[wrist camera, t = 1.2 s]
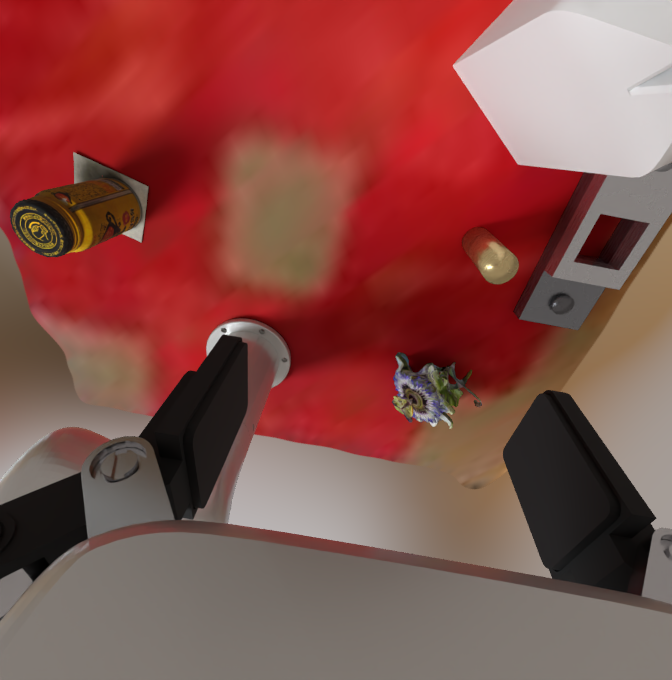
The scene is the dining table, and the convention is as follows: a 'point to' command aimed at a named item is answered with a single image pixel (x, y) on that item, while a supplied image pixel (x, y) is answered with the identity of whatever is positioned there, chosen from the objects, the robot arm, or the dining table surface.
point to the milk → (578, 83)
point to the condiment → (81, 211)
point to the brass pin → (490, 255)
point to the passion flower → (428, 391)
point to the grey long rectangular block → (616, 258)
